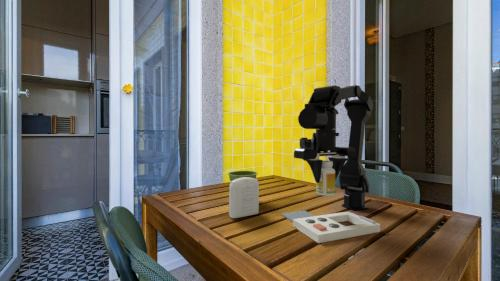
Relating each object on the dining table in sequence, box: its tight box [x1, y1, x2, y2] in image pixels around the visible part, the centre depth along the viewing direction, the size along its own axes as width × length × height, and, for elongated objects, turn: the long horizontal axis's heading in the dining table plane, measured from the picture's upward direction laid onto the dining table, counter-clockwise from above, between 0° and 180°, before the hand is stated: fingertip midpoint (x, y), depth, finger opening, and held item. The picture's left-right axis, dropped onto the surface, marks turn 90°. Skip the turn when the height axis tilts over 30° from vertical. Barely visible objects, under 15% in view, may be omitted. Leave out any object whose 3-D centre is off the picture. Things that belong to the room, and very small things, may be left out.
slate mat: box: [280, 210, 315, 223], centre depth 79 cm, size 9×9×1 cm
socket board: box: [292, 211, 381, 244], centre depth 70 cm, size 20×12×3 cm, turn 110°
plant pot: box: [227, 170, 258, 182], centre depth 98 cm, size 12×12×11 cm
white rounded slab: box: [228, 177, 260, 219], centre depth 81 cm, size 10×4×12 cm, turn 123°
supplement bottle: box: [315, 160, 336, 196], centre depth 74 cm, size 5×5×10 cm
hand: (325, 181), depth 74 cm, fingers closed on supplement bottle, 5 cm apart
